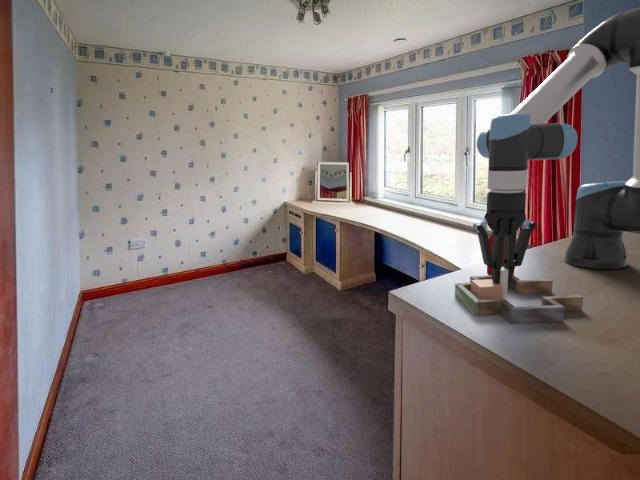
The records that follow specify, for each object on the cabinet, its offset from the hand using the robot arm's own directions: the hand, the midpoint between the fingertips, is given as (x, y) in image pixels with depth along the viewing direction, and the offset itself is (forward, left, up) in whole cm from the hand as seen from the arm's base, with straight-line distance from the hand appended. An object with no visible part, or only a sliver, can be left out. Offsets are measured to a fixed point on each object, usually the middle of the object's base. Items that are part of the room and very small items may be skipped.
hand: (500, 296), depth 94 cm
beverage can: (-8, -19, -2) cm, 21 cm away
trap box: (-3, 0, -2) cm, 4 cm away
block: (+3, 0, -2) cm, 4 cm away
